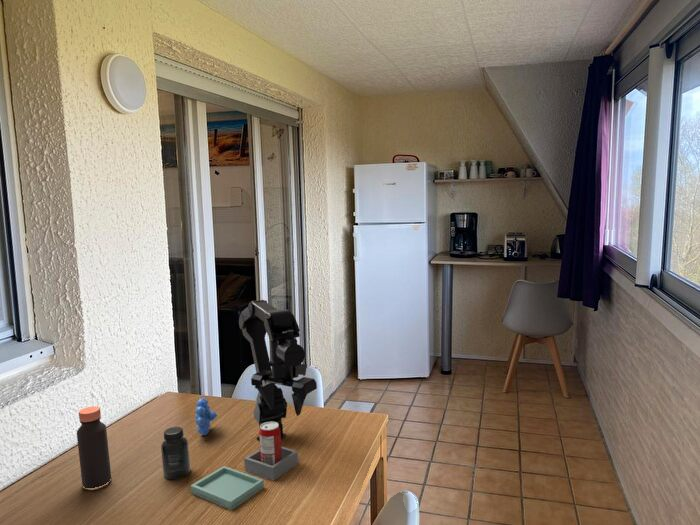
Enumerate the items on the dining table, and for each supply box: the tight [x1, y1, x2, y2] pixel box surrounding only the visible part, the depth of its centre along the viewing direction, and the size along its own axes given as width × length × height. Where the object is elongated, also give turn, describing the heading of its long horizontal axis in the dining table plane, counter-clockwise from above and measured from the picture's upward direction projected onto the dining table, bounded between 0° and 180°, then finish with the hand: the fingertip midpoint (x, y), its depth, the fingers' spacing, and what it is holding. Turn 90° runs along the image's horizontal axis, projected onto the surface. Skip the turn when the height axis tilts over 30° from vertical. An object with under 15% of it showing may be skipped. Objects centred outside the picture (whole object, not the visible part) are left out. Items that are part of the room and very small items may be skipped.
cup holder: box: [243, 445, 299, 482], centre depth 141 cm, size 10×10×4 cm
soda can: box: [258, 422, 282, 466], centre depth 141 cm, size 6×6×12 cm
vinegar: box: [76, 405, 112, 488], centre depth 135 cm, size 7×7×20 cm
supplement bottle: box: [160, 426, 191, 480], centre depth 139 cm, size 7×7×12 cm
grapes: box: [194, 397, 218, 436], centre depth 162 cm, size 12×7×12 cm, turn 8°
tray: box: [190, 465, 265, 510], centre depth 131 cm, size 14×11×2 cm
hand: (285, 412), depth 145 cm, fingers open, 9 cm apart
